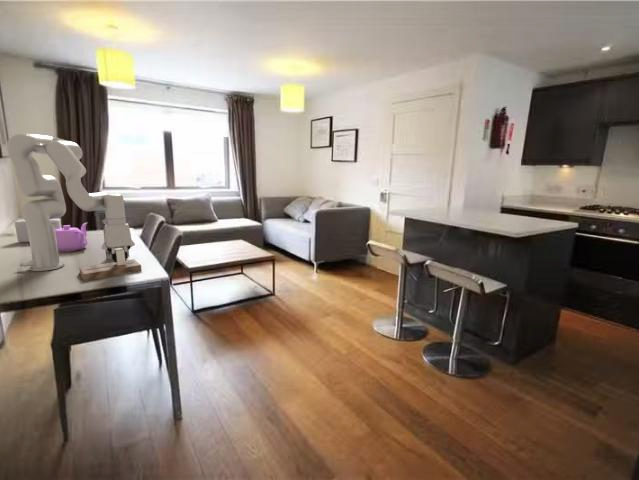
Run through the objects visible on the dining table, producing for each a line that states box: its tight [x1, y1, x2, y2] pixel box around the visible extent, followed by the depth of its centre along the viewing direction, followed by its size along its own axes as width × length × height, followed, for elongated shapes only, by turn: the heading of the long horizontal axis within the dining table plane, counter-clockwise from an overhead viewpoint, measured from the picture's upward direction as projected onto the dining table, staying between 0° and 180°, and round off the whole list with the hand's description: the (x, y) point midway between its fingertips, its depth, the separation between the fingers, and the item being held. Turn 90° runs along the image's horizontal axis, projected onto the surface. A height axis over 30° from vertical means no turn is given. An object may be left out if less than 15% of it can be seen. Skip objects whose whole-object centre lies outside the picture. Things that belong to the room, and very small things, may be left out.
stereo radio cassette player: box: [14, 218, 63, 243], centre depth 201 cm, size 21×8×20 cm, turn 114°
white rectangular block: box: [115, 248, 126, 266], centre depth 152 cm, size 3×4×7 cm
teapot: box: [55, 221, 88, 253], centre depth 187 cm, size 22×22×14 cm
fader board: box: [78, 258, 142, 282], centre depth 150 cm, size 22×12×3 cm, turn 133°
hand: (120, 260), depth 152 cm, fingers closed on white rectangular block, 3 cm apart
